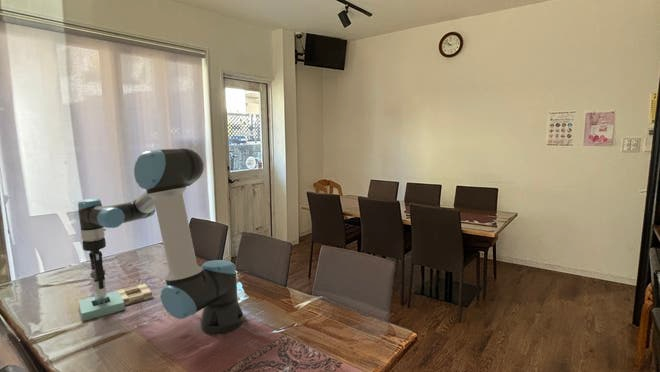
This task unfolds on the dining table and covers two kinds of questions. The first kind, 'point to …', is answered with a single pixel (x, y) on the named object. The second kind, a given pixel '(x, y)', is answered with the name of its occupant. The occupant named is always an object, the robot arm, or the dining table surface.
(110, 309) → the dock
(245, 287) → the dining table surface
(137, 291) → the mount
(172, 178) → the robot arm
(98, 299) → the pin
